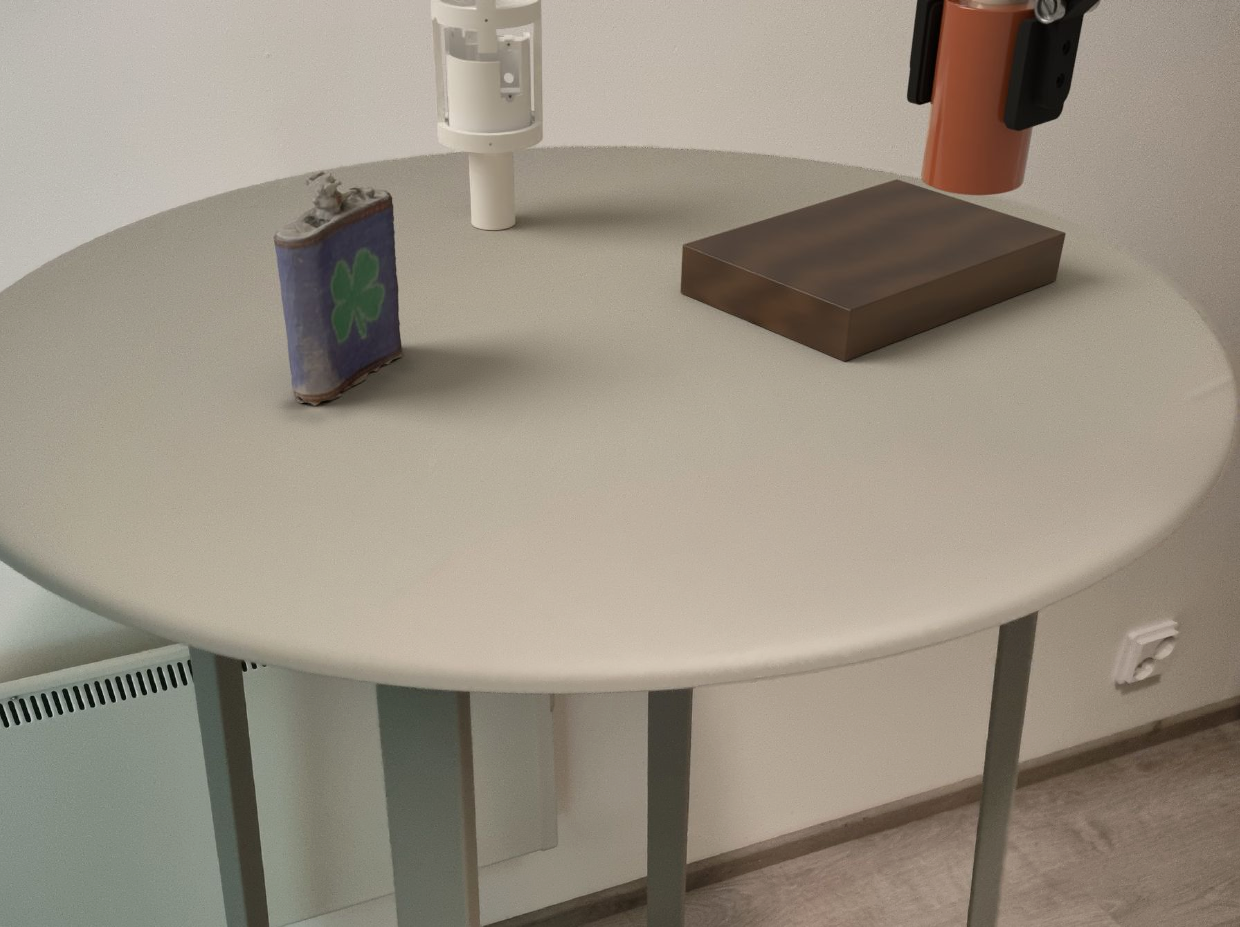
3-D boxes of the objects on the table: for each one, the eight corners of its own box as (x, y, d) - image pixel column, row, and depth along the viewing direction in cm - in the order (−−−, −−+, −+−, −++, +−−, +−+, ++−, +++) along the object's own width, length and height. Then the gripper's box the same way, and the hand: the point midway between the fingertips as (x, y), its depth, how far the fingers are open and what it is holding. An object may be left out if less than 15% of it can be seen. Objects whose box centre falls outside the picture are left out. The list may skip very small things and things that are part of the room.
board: (1056, 281, 97) (1066, 232, 95) (844, 362, 87) (850, 310, 85) (890, 224, 105) (896, 179, 103) (679, 293, 95) (682, 244, 93)
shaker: (1044, 180, 66) (1083, -36, 60) (979, 203, 64) (1014, -19, 58) (964, 158, 68) (995, -52, 63) (899, 179, 66) (926, -36, 61)
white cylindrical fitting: (441, 241, 102) (427, -11, 92) (443, 207, 108) (430, -35, 98) (545, 239, 103) (542, -13, 93) (542, 205, 108) (539, -37, 98)
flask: (320, 409, 82) (295, 204, 75) (277, 399, 83) (249, 195, 76) (413, 351, 88) (399, 155, 81) (372, 341, 90) (354, 148, 82)
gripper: (1356, -470, 49) (1207, 136, 61) (947, -463, 59) (889, 58, 71) (1227, -467, 45) (1096, 176, 58) (814, -460, 55) (777, 88, 67)
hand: (983, 105), depth 64 cm, fingers closed on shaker, 4 cm apart
